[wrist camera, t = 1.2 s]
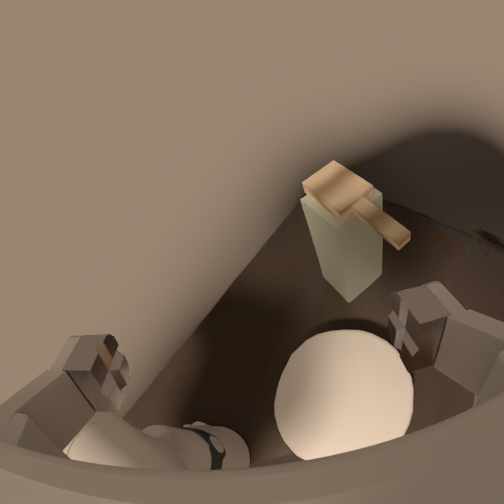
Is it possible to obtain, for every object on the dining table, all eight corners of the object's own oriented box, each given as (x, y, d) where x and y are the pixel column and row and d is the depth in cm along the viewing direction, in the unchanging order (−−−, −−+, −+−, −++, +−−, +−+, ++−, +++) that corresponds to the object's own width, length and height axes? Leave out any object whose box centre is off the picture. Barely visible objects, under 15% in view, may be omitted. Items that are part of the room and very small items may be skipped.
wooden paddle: (419, 230, 40) (421, 219, 38) (387, 260, 40) (388, 250, 38) (335, 171, 52) (333, 160, 50) (305, 193, 51) (302, 182, 49)
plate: (424, 455, 39) (276, 479, 45) (418, 451, 44) (284, 472, 51) (400, 310, 53) (263, 338, 60) (397, 319, 58) (272, 345, 65)
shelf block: (349, 303, 65) (337, 229, 45) (323, 277, 71) (300, 199, 51) (381, 274, 66) (382, 193, 46) (355, 250, 72) (343, 168, 52)
